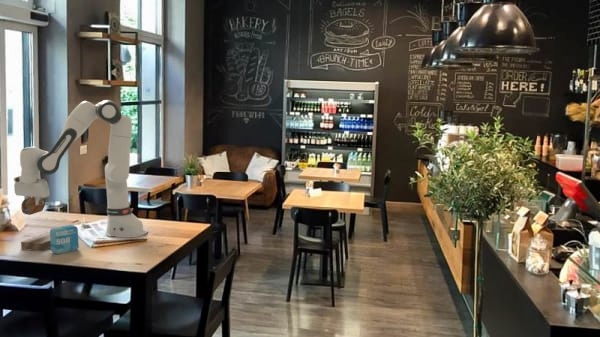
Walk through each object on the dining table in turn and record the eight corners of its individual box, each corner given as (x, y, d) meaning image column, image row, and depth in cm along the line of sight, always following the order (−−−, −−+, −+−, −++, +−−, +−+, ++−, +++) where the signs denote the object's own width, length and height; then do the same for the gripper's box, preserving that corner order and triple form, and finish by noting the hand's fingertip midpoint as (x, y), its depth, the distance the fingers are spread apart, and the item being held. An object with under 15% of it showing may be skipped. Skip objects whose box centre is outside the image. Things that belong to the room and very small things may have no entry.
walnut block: (68, 241, 314) (67, 233, 313) (42, 251, 295) (41, 243, 294) (48, 239, 317) (47, 232, 316) (21, 249, 298) (20, 241, 297)
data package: (55, 254, 288) (53, 230, 286) (50, 253, 291) (49, 228, 289) (79, 249, 297) (77, 225, 295) (74, 247, 300) (73, 224, 298)
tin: (25, 216, 304) (25, 200, 303) (19, 215, 305) (20, 199, 303) (45, 210, 318) (46, 194, 317) (40, 209, 319) (41, 193, 318)
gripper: (51, 178, 308) (53, 205, 310) (21, 176, 315) (23, 202, 317) (42, 180, 302) (44, 207, 304) (11, 178, 309) (13, 204, 312)
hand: (33, 204), depth 311 cm, fingers closed on tin, 3 cm apart
